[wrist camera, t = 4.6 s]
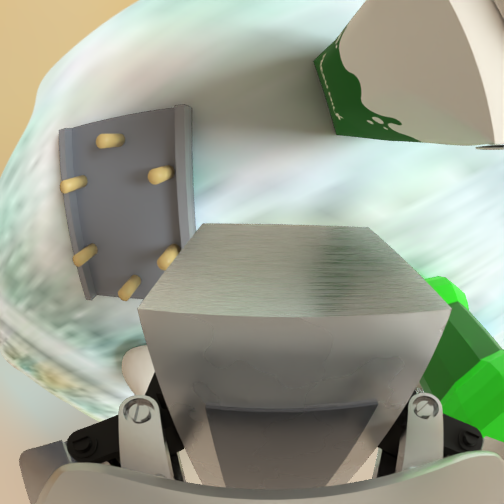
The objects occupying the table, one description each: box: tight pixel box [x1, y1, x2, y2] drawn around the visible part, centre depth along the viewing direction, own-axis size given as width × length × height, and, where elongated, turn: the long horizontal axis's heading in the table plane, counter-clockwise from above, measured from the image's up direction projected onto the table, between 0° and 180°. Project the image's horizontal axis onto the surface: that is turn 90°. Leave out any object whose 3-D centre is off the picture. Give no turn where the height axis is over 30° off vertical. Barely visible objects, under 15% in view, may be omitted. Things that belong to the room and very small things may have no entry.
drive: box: [137, 223, 452, 490], centre depth 9 cm, size 10×6×6 cm, turn 0°
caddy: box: [59, 104, 196, 301], centre depth 22 cm, size 18×13×4 cm
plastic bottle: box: [419, 276, 504, 442], centre depth 15 cm, size 10×10×25 cm
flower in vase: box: [122, 345, 155, 395], centre depth 20 cm, size 13×11×25 cm
